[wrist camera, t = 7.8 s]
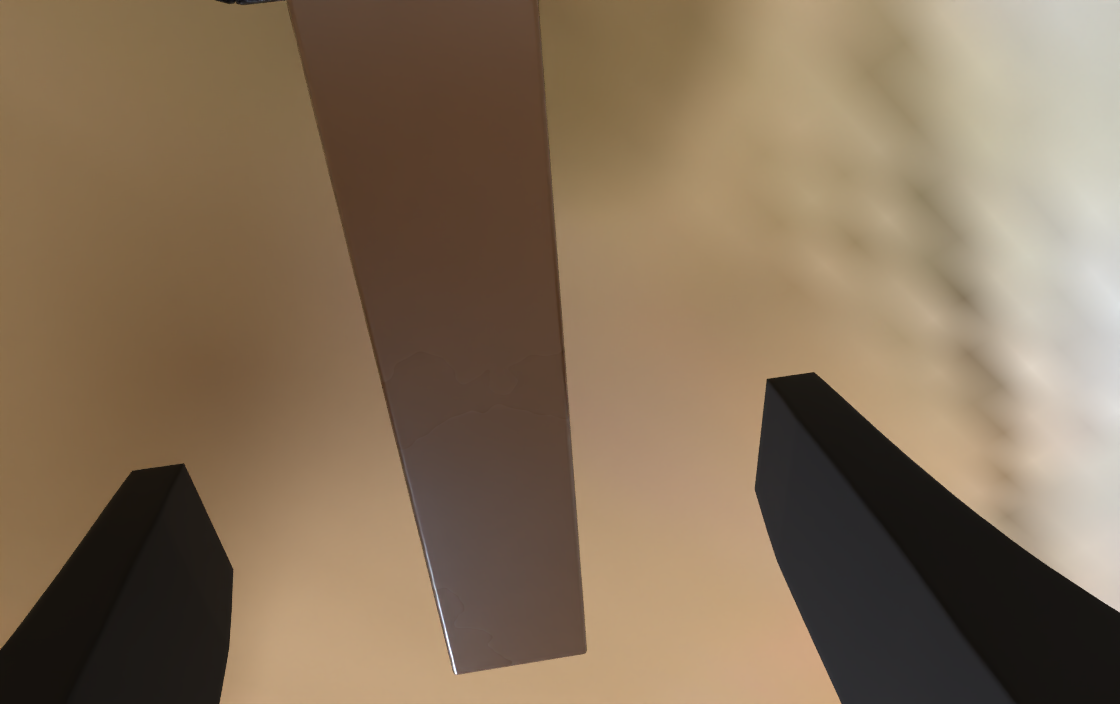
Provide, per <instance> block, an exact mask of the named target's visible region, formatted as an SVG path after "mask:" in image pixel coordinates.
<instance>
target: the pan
mask: <svg viewBox="0 0 1120 704" xmlns="http://www.w3.org/2000/svg"><path fill="white" fill-rule="evenodd" d="M216 1H220V2H223V3H227V4H233V3H235V2H236V3H237V4H240V5H249V4H258V3H267V2H277V1H286V2H287V6H288V10H289V14H290V18H291V22H292V26H293V30H294V34H295V38H296V42H297V46H298V50H299V54H300V58H301V62H302V66H303V70H304V74H305V79H306V83H307V87H308V91H309V95H310V99H311V103H312V107H313V111H314V115H315V119H316V123H317V127H318V131H319V135H320V139H321V143H322V147H323V151H324V155H325V159H326V163H327V167H328V171H329V175H330V179H331V183H332V187H333V191H334V195H335V199H336V203H337V207H338V211H339V215H340V219H341V223H342V227H343V231H344V235H345V239H346V243H347V248H348V252H349V256H350V260H351V264H352V268H353V272H354V276H355V280H356V284H357V288H358V292H359V296H360V300H361V304H362V308H363V312H364V316H365V320H366V324H367V328H368V332H369V336H370V340H371V344H372V348H373V352H374V356H375V360H376V364H377V368H378V372H379V376H380V380H381V384H382V388H383V392H384V396H385V400H386V404H387V408H388V412H389V416H390V421H391V425H392V429H393V433H394V437H395V441H396V445H397V449H398V453H399V457H400V461H401V465H402V469H403V473H404V477H405V481H406V485H407V489H408V493H409V497H410V501H411V505H412V509H413V513H414V517H415V521H416V525H417V529H418V533H419V537H420V541H421V545H422V549H423V553H424V557H425V561H426V565H427V569H428V573H429V577H430V581H431V585H432V589H433V594H434V598H435V602H436V606H437V610H438V614H439V618H440V622H441V626H442V630H443V634H444V638H445V642H446V646H447V650H448V654H449V658H450V662H451V666H452V670H453V672H454V674H457V675H458V674H464V673H470V672H476V671H483V670H489V669H495V668H501V667H507V666H513V665H519V664H526V663H532V662H538V661H544V660H550V659H556V658H562V657H569V656H575V655H581V654H585V653H586V651H587V644H586V630H585V617H584V604H583V590H582V577H581V564H580V550H579V537H578V524H577V510H576V497H575V483H574V470H573V457H572V443H571V430H570V417H569V403H568V390H567V377H566V363H565V350H564V336H563V323H562V310H561V296H560V283H559V270H558V256H557V243H556V230H555V216H554V203H553V190H552V176H551V163H550V149H549V136H548V123H547V109H546V96H545V83H544V69H543V56H542V43H541V29H540V16H539V2H538V0H216Z"/></svg>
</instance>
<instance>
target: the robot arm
mask: <svg viewBox="0 0 1120 704" xmlns="http://www.w3.org/2000/svg"><path fill="white" fill-rule="evenodd" d="M755 492H756V495H757V499H758V502H759V505H760V509H761V512H762V515H763V519H764V522H765V525H766V529H767V532H768V535H769V538H770V541H771V544H772V547H773V550H774V553H775V556H776V559H777V562H778V564H779V566H780V569H781V571H782V573H783V576H784V578H785V580H786V582H787V585H788V587H789V589H790V591H791V594H792V596H793V598H794V600H795V602H796V605H797V607H798V609H799V611H800V614H801V616H802V618H803V620H804V622H805V625H806V627H807V629H808V631H809V633H810V635H811V638H812V640H813V642H814V644H815V646H816V649H817V651H818V653H819V655H820V657H821V660H822V662H823V664H824V666H825V668H826V671H827V673H828V675H829V677H830V679H831V681H832V684H833V686H834V688H835V690H836V692H837V695H838V697H839V699H840V701H841V703H842V704H1120V612H1118V611H1116V610H1115V609H1113V608H1111V607H1110V606H1108V605H1107V604H1105V603H1103V602H1102V601H1100V600H1099V599H1097V598H1096V597H1094V596H1093V595H1091V594H1090V593H1088V592H1087V591H1085V590H1084V589H1082V588H1081V587H1079V586H1078V585H1076V584H1074V583H1073V582H1071V581H1070V580H1068V579H1067V578H1065V577H1064V576H1062V575H1061V574H1059V573H1058V572H1056V571H1055V570H1053V569H1052V568H1050V567H1049V566H1047V565H1046V564H1044V563H1043V562H1041V561H1040V560H1039V559H1037V558H1036V557H1034V556H1033V555H1032V554H1030V553H1029V552H1027V551H1026V550H1024V549H1023V548H1022V547H1020V546H1019V545H1018V544H1016V543H1015V542H1014V541H1012V540H1011V539H1010V538H1008V537H1007V536H1006V535H1004V534H1003V533H1002V532H1000V531H999V530H998V529H996V528H995V527H994V526H992V525H991V524H990V523H989V522H987V521H986V520H985V519H983V518H982V517H981V516H979V515H978V514H977V513H976V512H974V511H973V510H972V509H971V508H969V507H968V506H967V505H966V504H964V503H963V502H962V501H960V500H959V499H958V498H957V497H955V496H954V495H953V494H952V493H951V492H949V491H948V490H947V489H946V488H945V487H944V486H942V485H941V484H940V483H939V482H938V481H936V480H935V479H934V478H933V477H932V476H930V475H929V474H928V473H927V472H926V471H924V470H923V469H922V468H921V467H920V466H918V465H917V464H916V463H915V462H914V461H913V460H911V459H910V458H909V457H908V456H907V455H906V454H904V453H903V452H902V451H901V450H900V449H899V448H898V447H896V446H895V445H894V444H893V443H892V442H891V441H890V440H889V439H887V438H886V437H885V436H884V435H883V434H882V433H881V432H880V431H879V430H877V429H876V428H875V427H874V426H873V425H872V424H871V423H870V422H869V421H867V420H866V419H865V418H864V417H863V416H862V415H861V414H860V413H859V412H858V411H856V410H855V409H854V408H853V407H852V406H851V405H850V404H849V403H848V402H847V401H846V400H844V399H843V398H842V397H841V396H840V395H839V394H838V393H837V392H836V391H835V390H834V389H832V388H831V387H830V386H829V385H828V384H827V383H826V382H825V381H824V380H822V379H821V378H820V377H819V376H818V375H817V374H815V373H814V372H812V373H805V374H798V375H791V376H784V377H777V378H770V379H767V383H766V392H765V401H764V410H763V419H762V428H761V437H760V446H759V455H758V464H757V473H756V482H755ZM232 588H233V568H232V566H231V563H230V561H229V559H228V557H227V555H226V553H225V550H224V548H223V546H222V544H221V542H220V540H219V538H218V535H217V533H216V531H215V529H214V527H213V525H212V522H211V520H210V518H209V516H208V514H207V512H206V510H205V507H204V505H203V503H202V501H201V499H200V497H199V495H198V492H197V490H196V488H195V486H194V484H193V482H192V479H191V477H190V475H189V473H188V471H187V469H186V467H185V464H184V463H183V464H176V465H169V466H162V467H155V468H148V469H141V470H135V471H132V472H131V473H130V475H129V476H128V477H127V478H126V480H125V481H124V482H123V484H122V485H121V487H120V488H119V489H118V491H117V492H116V493H115V495H114V496H113V497H112V499H111V500H110V502H109V503H108V504H107V506H106V507H105V509H104V510H103V512H102V513H101V514H100V516H99V517H98V519H97V520H96V521H95V523H94V524H93V526H92V527H91V528H90V530H89V531H88V533H87V534H86V536H85V537H84V538H83V540H82V541H81V543H80V544H79V545H78V547H77V548H76V550H75V551H74V552H73V554H72V555H71V557H70V558H69V559H68V561H67V562H66V563H65V565H64V566H63V568H62V569H61V570H60V572H59V573H58V575H57V576H56V577H55V579H54V580H53V581H52V583H51V584H50V585H49V587H48V588H47V589H46V591H45V592H44V593H43V595H42V596H41V597H40V599H39V600H38V601H37V603H36V604H35V605H34V607H33V608H32V609H31V611H30V612H29V613H28V615H27V616H26V617H25V619H24V620H23V621H22V623H21V624H20V625H19V627H18V628H17V629H16V631H15V632H14V633H13V635H12V636H11V637H10V638H9V640H8V641H7V642H6V644H5V645H4V646H3V647H2V649H1V650H0V704H219V703H220V697H221V691H222V686H223V680H224V675H225V669H226V663H227V658H228V652H229V642H230V627H231V612H232Z"/></svg>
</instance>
